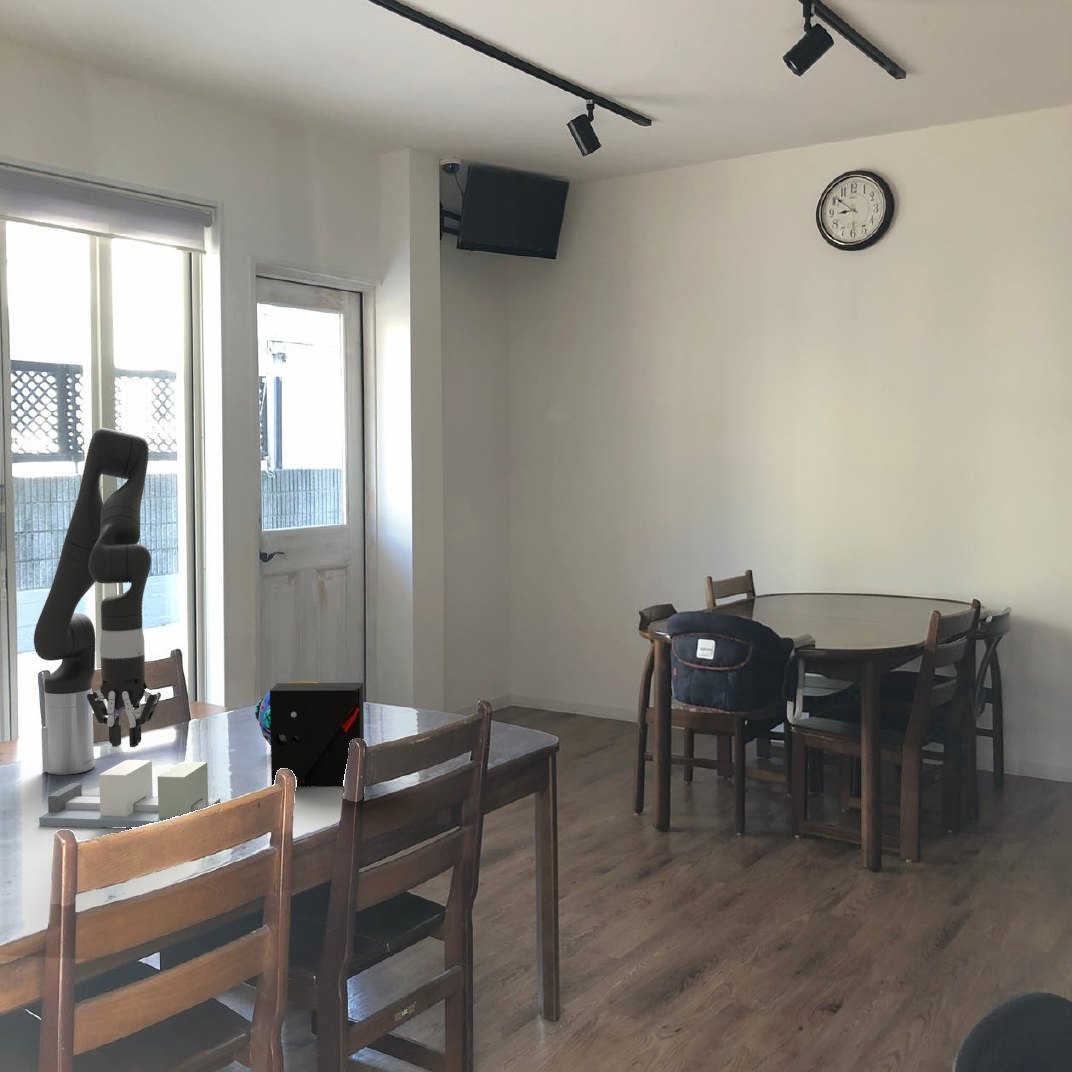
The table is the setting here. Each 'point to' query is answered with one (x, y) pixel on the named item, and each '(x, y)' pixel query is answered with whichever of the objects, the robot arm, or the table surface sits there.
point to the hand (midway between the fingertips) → (125, 745)
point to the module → (125, 787)
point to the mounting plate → (176, 797)
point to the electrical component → (314, 730)
